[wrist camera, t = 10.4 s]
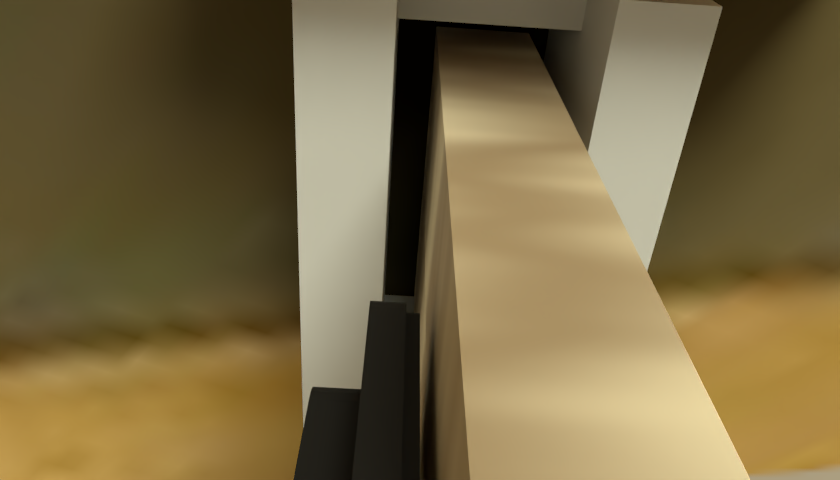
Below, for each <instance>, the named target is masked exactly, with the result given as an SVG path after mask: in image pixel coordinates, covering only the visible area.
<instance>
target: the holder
mask: <svg viewBox="0 0 840 480" xmlns="http://www.w3.org/2000/svg"><path fill="white" fill-rule="evenodd" d="M721 11H722V6H721V5H719V4H718V3H716V2H714V1H713V0H292V16H293V54H294V92H295V131H296V169H297V207H298V245H299V284H300V322H301V360H302V398H303V428H304V423H305V417H306V412H307V407H308V401H309V397H310V392H311V389H312V387H328V388H348V389H361V384H362V374H363V364H364V354H365V345H366V335H367V325H368V315H369V306H370V301H385V302H403V303H406V312H409V313H414V296H399V295H385V286H386V267H387V248H388V229H389V209H390V190H391V171H392V152H393V132H394V113H395V94H396V74H397V55H398V36H399V18H401V19H415V20H430V21H444V22H459V23H473V24H488V25H502V26H517V27H531V28H546V29H549V32H548V38H547V44H546V50H545V56H544V62H543V63H544V65H545V67H546V69H547V71H548V73H549V75H550V77H551V79H552V81H553V83H554V85H555V87H556V89H557V91H558V93H559V95H560V97H561V99H562V101H563V103H564V105H565V107H566V109H567V111H568V113H569V115H570V117H571V119H572V121H573V123H574V125H575V127H576V130H577V132H578V134H579V136H580V138H581V140H582V142H583V144H584V146H585V148H586V150H587V152H588V154H589V156H590V158H591V160H592V162H593V164H594V166H595V168H596V170H597V172H598V174H599V176H600V178H601V180H602V182H603V184H604V186H605V188H606V190H607V192H608V194H609V196H610V198H611V200H612V202H613V204H614V206H615V208H616V210H617V212H618V214H619V216H620V218H621V220H622V222H623V224H624V226H625V228H626V230H627V232H628V234H629V236H630V238H631V240H632V242H633V244H634V246H635V248H636V250H637V252H638V254H639V256H640V258H641V260H642V262H643V264H644V266H645V268H646V270H648V266H649V263H650V259H651V256H652V252H653V249H654V245H655V242H656V238H657V235H658V231H659V228H660V224H661V221H662V217H663V214H664V210H665V207H666V203H667V200H668V196H669V193H670V189H671V186H672V182H673V179H674V175H675V172H676V168H677V165H678V161H679V158H680V154H681V151H682V147H683V144H684V140H685V137H686V133H687V130H688V126H689V123H690V119H691V116H692V112H693V109H694V105H695V102H696V98H697V95H698V91H699V88H700V84H701V81H702V77H703V74H704V70H705V67H706V63H707V60H708V56H709V53H710V49H711V46H712V42H713V39H714V35H715V32H716V28H717V25H718V21H719V18H720V14H721Z"/></svg>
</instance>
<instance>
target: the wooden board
mask: <svg viewBox="0 0 840 480" xmlns="http://www.w3.org/2000/svg"><path fill="white" fill-rule="evenodd" d="M414 313H420V480H750V478H749V476H748V474H747V472H746V470H745V468H744V466H743V464H742V462H741V460H740V458H739V456H738V454H737V452H736V450H735V448H734V446H733V444H732V442H731V440H730V438H729V436H728V434H727V432H726V430H725V427H724V425H723V423H722V421H721V419H720V417H719V415H718V413H717V411H716V409H715V407H714V405H713V403H712V401H711V399H710V397H709V395H708V393H707V391H706V389H705V387H704V385H703V383H702V381H701V379H700V377H699V375H698V373H697V371H696V369H695V367H694V365H693V363H692V361H691V359H690V357H689V355H688V353H687V351H686V349H685V347H684V345H683V343H682V341H681V339H680V337H679V335H678V333H677V331H676V329H675V327H674V325H673V323H672V321H671V319H670V317H669V315H668V313H667V311H666V309H665V307H664V305H663V303H662V301H661V299H660V297H659V295H658V293H657V291H656V289H655V287H654V285H653V283H652V281H651V278H650V276H649V274H648V272H647V270H646V268H645V266H644V264H643V262H642V260H641V258H640V256H639V254H638V252H637V250H636V248H635V246H634V244H633V242H632V240H631V238H630V236H629V234H628V232H627V230H626V228H625V226H624V224H623V222H622V220H621V218H620V216H619V214H618V212H617V210H616V208H615V206H614V204H613V202H612V200H611V198H610V196H609V194H608V192H607V190H606V188H605V186H604V184H603V182H602V180H601V178H600V176H599V174H598V172H597V170H596V168H595V166H594V164H593V162H592V160H591V158H590V156H589V154H588V152H587V150H586V148H585V146H584V144H583V142H582V140H581V138H580V136H579V134H578V132H577V130H576V127H575V125H574V123H573V121H572V119H571V117H570V115H569V113H568V111H567V109H566V107H565V105H564V103H563V101H562V99H561V97H560V95H559V93H558V91H557V89H556V87H555V85H554V83H553V81H552V79H551V77H550V75H549V73H548V71H547V69H546V67H545V65H544V63H543V61H542V59H541V57H540V55H539V53H538V51H537V49H536V47H535V45H534V43H533V41H532V39H531V37H530V35H529V33H519V32H506V31H492V30H479V29H465V28H451V27H438V26H436V37H435V49H434V61H433V73H432V85H431V97H430V109H429V121H428V133H427V145H426V157H425V169H424V181H423V193H422V205H421V217H420V229H419V241H418V253H417V265H416V277H415V289H414Z"/></svg>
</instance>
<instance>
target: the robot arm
mask: <svg viewBox="0 0 840 480" xmlns="http://www.w3.org/2000/svg"><path fill="white" fill-rule="evenodd" d="M294 480H420V313H409V312H406V303H403V302H385V301H370V306H369V315H368V325H367V335H366V345H365V354H364V364H363V374H362V384H361V389H348V388H328V387H312V389H311V392H310V397H309V401H308V407H307V412H306V417H305V423H304V428H303V433H302V438H301V444H300V449H299V454H298V459H297V465H296V470H295V475H294Z"/></svg>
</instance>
